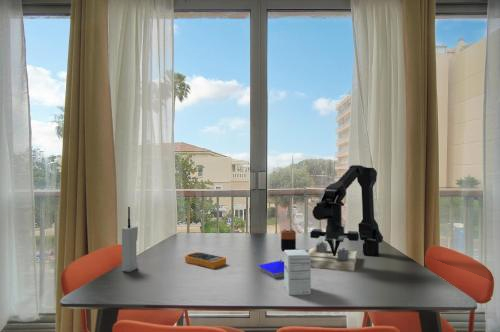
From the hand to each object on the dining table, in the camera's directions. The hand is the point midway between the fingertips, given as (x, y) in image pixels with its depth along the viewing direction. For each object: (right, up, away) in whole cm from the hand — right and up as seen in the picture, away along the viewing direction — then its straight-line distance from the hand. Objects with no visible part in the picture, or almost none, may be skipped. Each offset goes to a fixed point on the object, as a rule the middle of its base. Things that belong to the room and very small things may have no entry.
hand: (334, 255), depth 140 cm
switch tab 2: (+3, -1, -1) cm, 4 cm away
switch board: (0, -4, +5) cm, 7 cm away
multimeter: (-53, -5, +5) cm, 54 cm away
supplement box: (-19, -4, -28) cm, 34 cm away
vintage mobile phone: (-82, -5, -4) cm, 82 cm away
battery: (-16, -4, +27) cm, 32 cm away
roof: (-23, -5, -8) cm, 25 cm away
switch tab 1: (-3, -1, +12) cm, 12 cm away
